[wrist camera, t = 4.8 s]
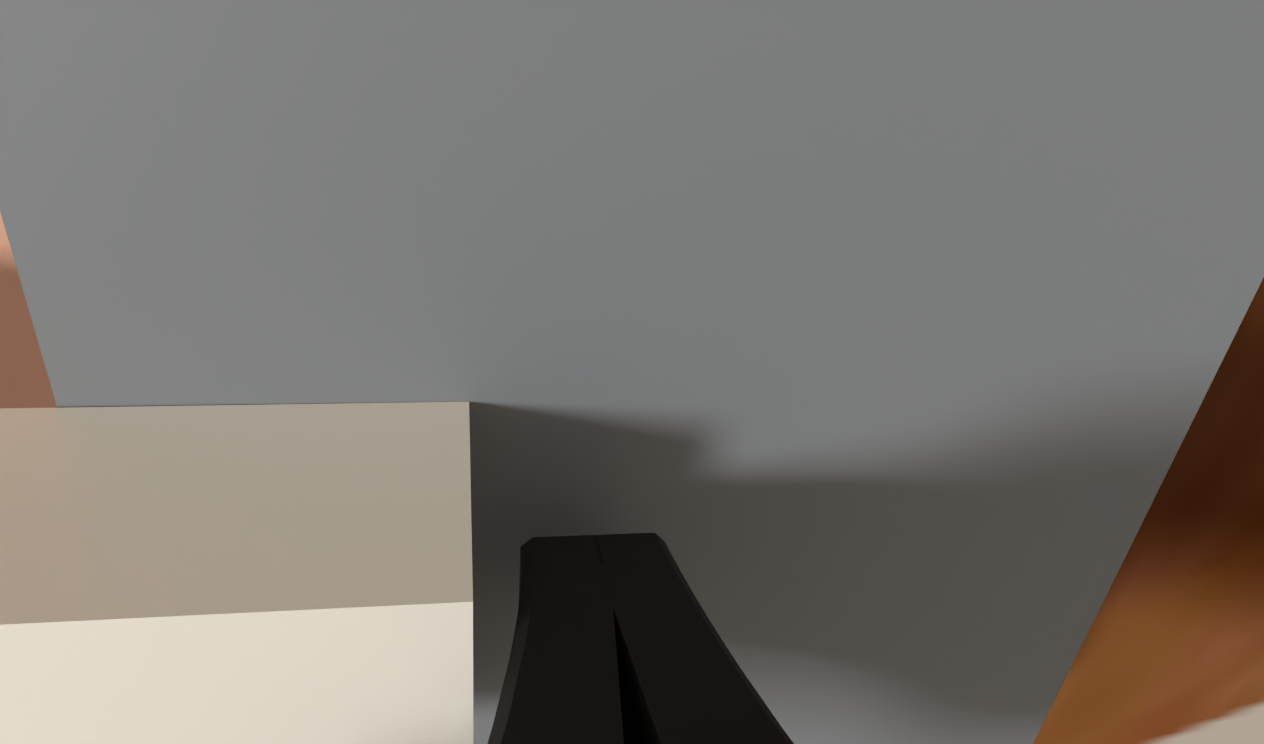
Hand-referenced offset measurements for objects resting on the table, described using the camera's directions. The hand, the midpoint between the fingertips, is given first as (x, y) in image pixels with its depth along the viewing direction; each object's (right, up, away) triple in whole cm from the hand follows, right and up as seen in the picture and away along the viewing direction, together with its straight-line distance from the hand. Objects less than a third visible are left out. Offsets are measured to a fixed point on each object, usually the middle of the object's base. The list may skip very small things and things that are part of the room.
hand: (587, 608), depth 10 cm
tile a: (-3, 0, 0) cm, 3 cm away
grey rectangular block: (0, +3, +4) cm, 5 cm away
